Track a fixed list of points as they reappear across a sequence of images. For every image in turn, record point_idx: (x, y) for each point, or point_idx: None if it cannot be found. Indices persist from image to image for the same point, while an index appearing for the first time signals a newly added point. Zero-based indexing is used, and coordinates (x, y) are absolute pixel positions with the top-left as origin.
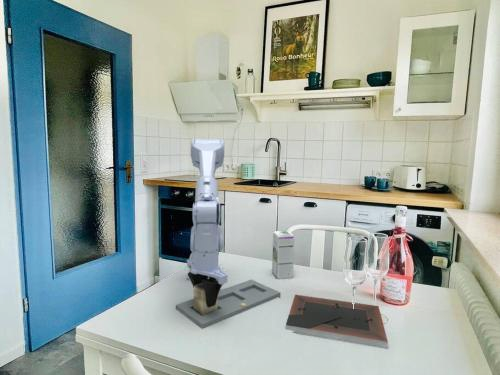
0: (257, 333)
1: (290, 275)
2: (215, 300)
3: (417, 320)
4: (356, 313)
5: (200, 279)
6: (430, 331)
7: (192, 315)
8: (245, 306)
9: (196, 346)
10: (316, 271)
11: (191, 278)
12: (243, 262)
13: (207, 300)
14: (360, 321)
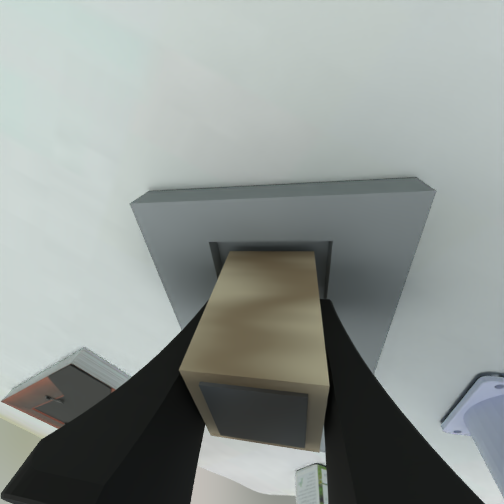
0: (88, 308)
1: (298, 478)
2: None
3: None
4: None
5: (334, 470)
6: (51, 429)
7: (237, 208)
8: None
9: (34, 101)
10: (287, 490)
11: (389, 484)
12: (483, 495)
13: (190, 322)
14: (66, 420)
